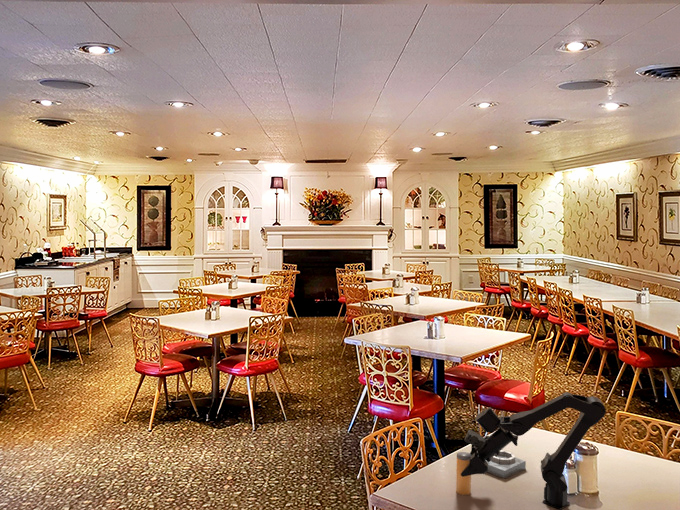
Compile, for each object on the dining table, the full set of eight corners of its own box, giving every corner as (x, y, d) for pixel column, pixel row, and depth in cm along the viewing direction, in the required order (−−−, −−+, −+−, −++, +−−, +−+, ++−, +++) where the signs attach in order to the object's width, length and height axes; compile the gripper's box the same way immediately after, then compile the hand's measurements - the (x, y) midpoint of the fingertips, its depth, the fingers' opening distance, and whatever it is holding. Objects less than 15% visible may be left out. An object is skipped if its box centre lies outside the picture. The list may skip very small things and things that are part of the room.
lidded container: (473, 492, 199) (474, 455, 198) (464, 496, 196) (465, 458, 195) (462, 487, 203) (462, 450, 202) (453, 491, 199) (453, 454, 199)
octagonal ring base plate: (525, 468, 219) (525, 450, 218) (504, 478, 210) (504, 459, 209) (490, 456, 231) (490, 439, 231) (468, 465, 222) (468, 447, 222)
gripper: (480, 415, 206) (448, 442, 209) (478, 433, 188) (443, 462, 191) (502, 439, 204) (470, 466, 207) (502, 459, 186) (466, 488, 189)
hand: (462, 470), depth 199 cm, fingers open, 9 cm apart
